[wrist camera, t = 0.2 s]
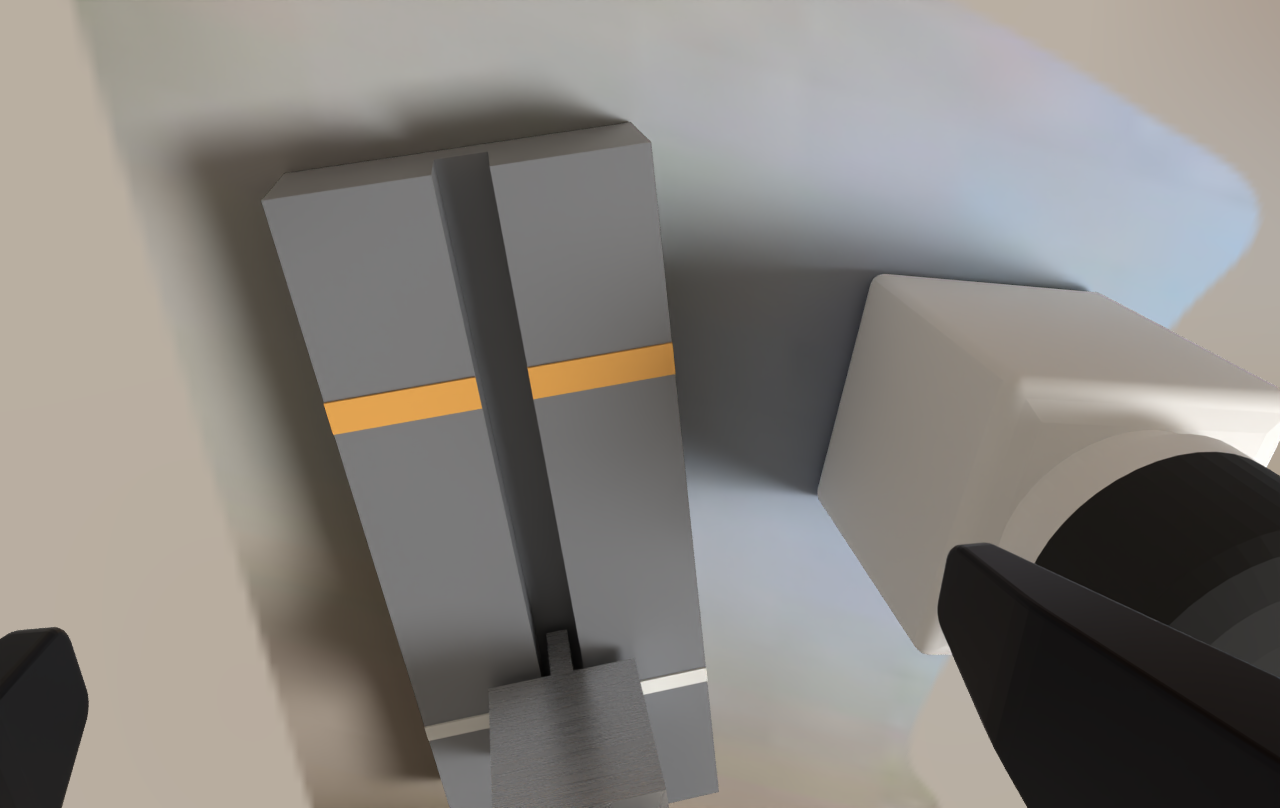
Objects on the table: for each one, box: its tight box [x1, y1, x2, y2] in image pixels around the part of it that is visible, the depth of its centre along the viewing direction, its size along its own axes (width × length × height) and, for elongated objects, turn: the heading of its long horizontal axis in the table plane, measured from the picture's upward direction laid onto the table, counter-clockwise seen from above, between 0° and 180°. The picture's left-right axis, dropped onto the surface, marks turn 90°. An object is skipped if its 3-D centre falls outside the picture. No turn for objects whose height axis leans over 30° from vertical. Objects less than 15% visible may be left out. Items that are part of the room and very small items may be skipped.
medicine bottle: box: [817, 274, 1280, 678], centre depth 21 cm, size 7×7×12 cm
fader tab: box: [488, 629, 669, 808], centre depth 24 cm, size 3×4×6 cm
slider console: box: [261, 122, 719, 808], centre depth 24 cm, size 20×8×3 cm, turn 6°
